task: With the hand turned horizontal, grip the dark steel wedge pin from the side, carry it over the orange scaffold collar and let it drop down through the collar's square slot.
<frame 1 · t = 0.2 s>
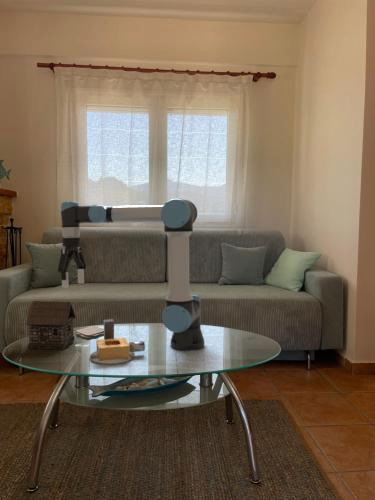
hand: (73, 285, 186), 27 cm above the table, tool pointing down, fingers open, 13 cm apart
model building: (52, 345, 189), on the table
wedge pin: (109, 347, 186), on the table
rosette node: (112, 357, 173), on the table
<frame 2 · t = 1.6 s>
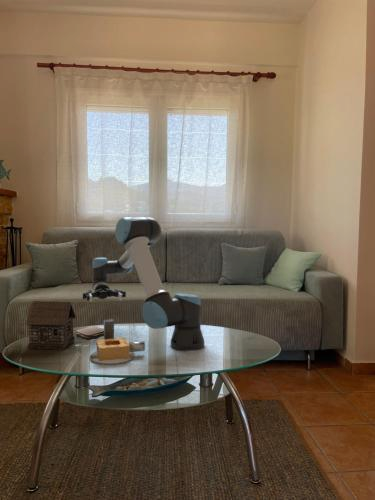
hand: (106, 298, 194), 20 cm above the table, tool horizontal, fingers open, 13 cm apart
nothing on the table moved.
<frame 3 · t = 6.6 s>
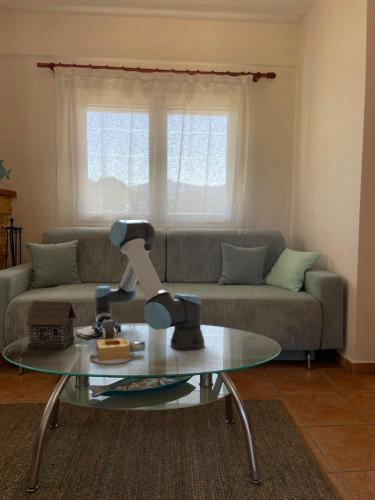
hand: (110, 334, 181), 7 cm above the table, tool horizontal, fingers closed on wedge pin, 4 cm apart
wedge pin: (109, 347, 186), on the table, touching gripper
everything else where it was.
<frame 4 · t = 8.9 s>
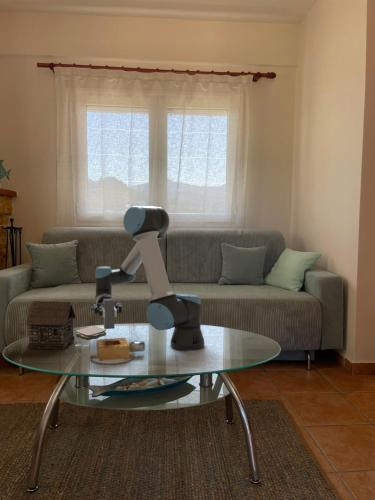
hand: (110, 313, 172), 18 cm above the table, tool horizontal, fingers closed on wedge pin, 4 cm apart
wedge pin: (109, 327, 177), point 11 cm above the table, touching gripper
everything else where it was.
when the fingers open (14 cm above the table, at t = 11.1 s): wedge pin drops 6 cm, resting on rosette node.
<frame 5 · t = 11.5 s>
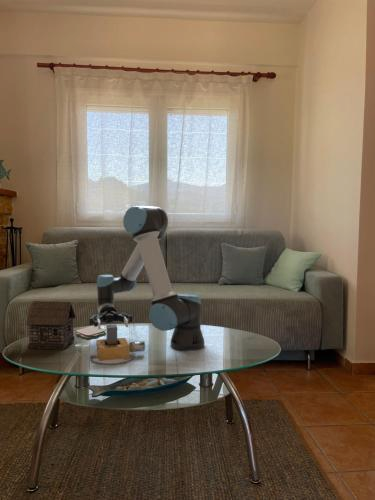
hand: (113, 324, 168), 14 cm above the table, tool horizontal, fingers open, 10 cm apart
wedge pin: (112, 354, 173), point 1 cm above the table, touching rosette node
everything else where it was.
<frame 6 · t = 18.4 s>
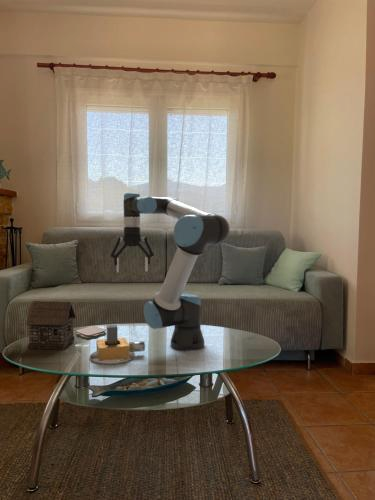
hand: (132, 271, 198), 32 cm above the table, tool pointing down, fingers open, 13 cm apart
nothing on the table moved.
at the end: wedge pin 0.1 cm off-centre on the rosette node, point 1.0 cm above the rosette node's base; wedge pin tilted 0°; the gripper is holding nothing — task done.
